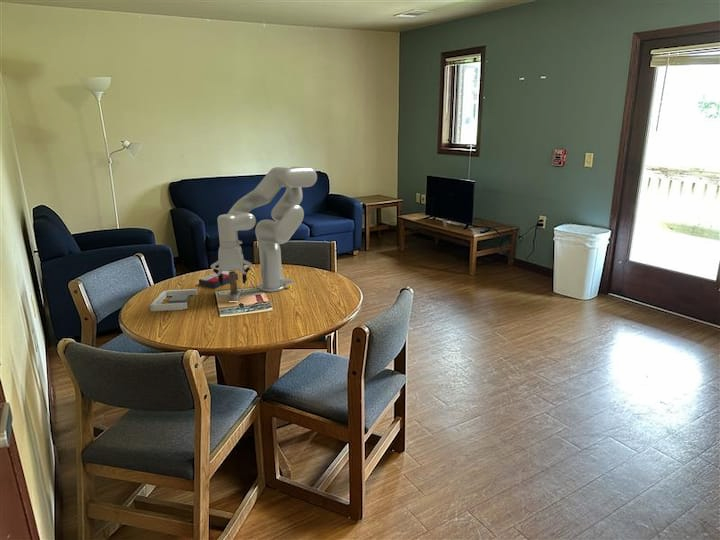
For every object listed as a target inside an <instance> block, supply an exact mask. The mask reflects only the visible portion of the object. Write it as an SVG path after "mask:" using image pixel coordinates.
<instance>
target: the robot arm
mask: <svg viewBox="0 0 720 540" xmlns="http://www.w3.org/2000/svg"><path fill="white" fill-rule="evenodd" d="M317 180H318V174H317V172H316V170H315V169H313V168H311V167H307V166H306V167H304V166H303V167H302V166H291V167H283V166H282V167H281V166H279V167H278V166H275V167H273V168H270V170H269V171H268V172H267V173H266V175H265V176H264V177H263V178H262V180H261V181H260V182H259V183H258V185H256V187H255V188H254V189H253V190H251V191H250V192H248V193H247V194H246V195H244V196H242V197H241V198H239V199H238V200H237V201H236V202H235V203H234V204H233V205H232V207H231V208H230V209H229V211H228V212H227V213H224V214H220V215H218V217H217V229H218V238H219V239H218V240H219V247H218V257H217V258H218V259H217V261H216V262H214V263H212V264H211V265H210V266H209V267H210V268H211V270H212V271H213V273H216V274H217V275H218V278H219V282H220V284H221V285H222V284H223V274H222V271H229V272H231V271H240V272H241V273H242V274H241V275H242V276H241V278H242V284H246V282H247V280H248V279H247V276H248V275H247V273H248V272H249V271H250V270H251V267H252V266H253V262H250V261H248V260H246V259H245V258H244V254H243V249H242V246H241V245H242V244H243V241H242V240H239V236H238V235H239V234H238V231H239V232H240V231H249V230H251V229H254V228H255V229H254V230H255V233H254V234H255V237H256V241H257V244H258V246H257V247H258V253H259V254H258V255H259V264H260V265H259V266H260V276H261V277H260V278H261V283H260V284H259V285H258V289H259V290H260V291H261V292H279V291H282V290H285V289H286V288H287V284H290V285H292V284H293V279H291V278H284V275H283V268H282V254H281V253H282V251H281V246H280V245H282V244H286V243H287V242H289V240H291V237H292V236H293V235H294V234H295V232H296V231H297V230H298V228H299V227H300V225H301V224H302V222H303V220H304V217H305V211H304V209H303V207H302V206H301V203H302V201H303V198H304V197H303V194H304V193H303V188H309V187H310V188H311V187H312V186H314V185H315V184H316V182H317ZM282 188H285V192H284V193H283V195H282V196H281V197H280V199H279V200H278V202H277V203H276V204H275V205H274V207H273V208H272V209H271V214H270V215H271V218H272V219H262V220H260V221H258V222H257V219H256V216H255V215H254V214H253V213H251V211H252V210H254V209H256V208H259V207H262V206H265V205H268V204H269V203H272V200H273V199H274V198H275V197H276V195H277V194H278V193H279V191H281V189H282ZM245 265H246V266H247V267H246V268H245ZM217 266H218V269H217Z"/></svg>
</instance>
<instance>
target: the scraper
mask: <svg viewBox="0 0 720 540" xmlns="http://www.w3.org/2000/svg"><path fill="white" fill-rule="evenodd" d="M236 273H237V272H236V271H229V281H230V283H229V289H230V292H229V293H228V295H227V303H228V302H229V301H238V300H239V298H240V296H241V297H242V292H241V289H240V290H239V289H238V283H237V281H236ZM240 299H241V298H240ZM239 301H240V300H239Z"/></svg>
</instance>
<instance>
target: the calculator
mask: <svg viewBox="0 0 720 540" xmlns="http://www.w3.org/2000/svg"><path fill="white" fill-rule="evenodd" d="M229 272H230V271H222V274H223V284H222V285H221V284H220V282H219V278H218V275H217V274H216V273H215V272H213V273H210V274H208V275H206V276H203V277H200V278H199V279H198V284H199V286H201V285H202V287H208V288H211V289H217V288H221V287H223V286H225V285H228V284H230V281H229ZM238 274H239V273H237V272H236V280H237V281H239V275H238ZM220 286H221V287H220Z"/></svg>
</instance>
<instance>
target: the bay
mask: <svg viewBox="0 0 720 540" xmlns="http://www.w3.org/2000/svg"><path fill="white" fill-rule="evenodd" d="M173 295H193V296H198V288H189V289H169V290H167V289H166V290H165V289H164V290H163V291H161V293H159V295H158V296H157V297H156V298H155V299H154V300H153V302H151V304H150V305H149V310H150V312H163V311H167V310H168V311H183V309H187V308H189V307H188V302H187V303H163V302H164V301H165V300H164V299H166V298H167V296H173ZM163 300H164V301H163ZM187 310H188V309H187ZM168 311H167V312H168Z"/></svg>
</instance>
